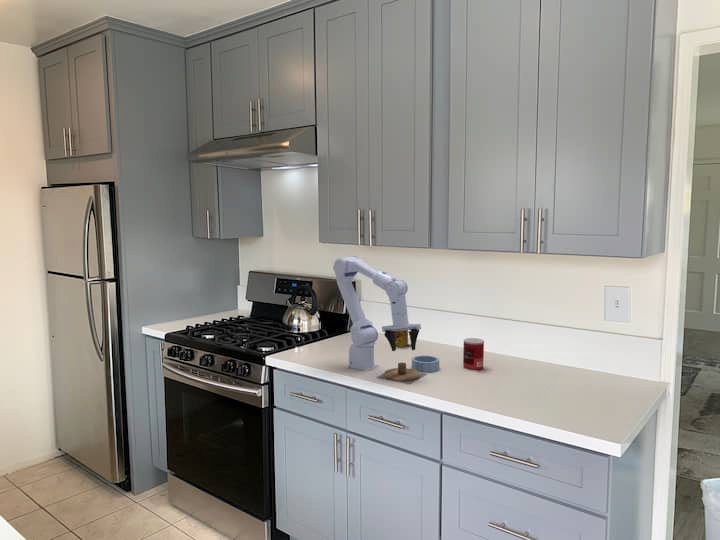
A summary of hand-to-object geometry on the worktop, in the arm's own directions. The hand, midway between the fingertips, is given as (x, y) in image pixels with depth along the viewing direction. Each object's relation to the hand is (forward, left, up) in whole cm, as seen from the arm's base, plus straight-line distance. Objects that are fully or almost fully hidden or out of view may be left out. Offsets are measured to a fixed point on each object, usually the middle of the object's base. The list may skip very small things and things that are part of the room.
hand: (403, 350), depth 201 cm
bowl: (+2, +13, -10) cm, 17 cm away
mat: (-1, 0, -10) cm, 10 cm away
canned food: (+17, +25, -10) cm, 32 cm away
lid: (-1, 0, -10) cm, 10 cm away
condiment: (-22, +40, -10) cm, 47 cm away
